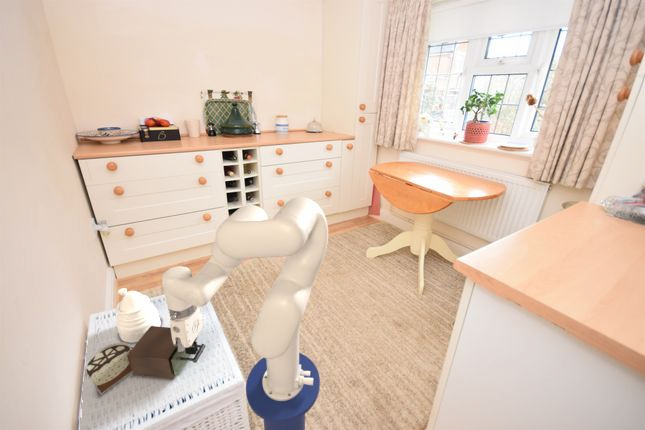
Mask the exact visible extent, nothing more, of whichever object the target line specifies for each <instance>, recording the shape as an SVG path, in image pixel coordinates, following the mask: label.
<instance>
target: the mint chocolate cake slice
mask: <svg viewBox="0 0 645 430" xmlns="http://www.w3.org/2000/svg"><path fill="white" fill-rule="evenodd" d="M133 347H134V346H132V345H131V344H130V343H128V342H114V343H111V344H108V345H106V346H104V347H102V348H100V349H98V350H97V351H96V352H95V353H93V354H92V355H91V356H90V357H89V358H88V360H87V362H86V364H85V366H84V377H85V379H86V381H88V380H89V379H90V381H91V383H92V384H93V386H94V387H95V388H96V390H97V392H99V394H100V395H103V394H104V393H105V392H107V391H108V390H110V389H111V388H112V387H114V386H115V385H116V384H118V383H119V382H120V381H122V380H123V379H124V378H126V377H127V376H129V375H130V374H132V373H133V372H132V369H131V366H130V363H129V360H128V357H127V355H128V353H129V352H130V351H131V350H132V348H133ZM88 378H89V379H88Z"/></svg>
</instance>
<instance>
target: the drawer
mask: <svg viewBox="0 0 645 430" xmlns="http://www.w3.org/2000/svg"><path fill="white" fill-rule="evenodd" d="M197 347H198V351H197V352H196V354H195V355H194V357H191V355H192V354H186V352H185V350H184V351H183V352H178V347H177V349H176V350H175V352H174V353H173V355H172V356H171V358H170V362H171V366H172V370H174V374H175V376H174V377H179V376H180V374H181V372H182V371H183V369H184V367H185V366H186V364H187V362H192V363H193V364H196V363H198V361H199V359H200V357H201V356H202V354H203V351H204V350H205V348H206V344H205V343H201V344H197Z"/></svg>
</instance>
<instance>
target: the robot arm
mask: <svg viewBox="0 0 645 430" xmlns="http://www.w3.org/2000/svg"><path fill="white" fill-rule="evenodd" d="M328 244H329V225H328V221H327V218H326V216H325V214H324V211H323V210H322V208H321V207H320V206H319V205H318V203H316V202H315V201H314V200H312V199H311V198H309V197H306V196H297V197H292V198H290V199H289V200H288V201H287V202H285V204H283V206H281V208H279V210H278V211H277V212H276V214H274V215H273V217H272V218H269V217H268V215H267V212H266V211H265V210H264V209H263V208H262V207H260V206H258V205H255V204H246V205H243V206H241V207H239V208H238V209H237V210H235V211H234V212H233V213H232V214H231V215H229V216H228V217H227V218H226V219H225V220H224V221H223V222H221V223H220V225H219V226H218V228H217V229H216V233H215V240H214V242H213V243H212V244H211V248H210V253H211V256H210V258H209V259H208V261H207V262H206V263H205V264H204V265H203V266H202V267H201V268H200V269H199V270H198V271H197V272H196V273H195V274H194V275H193V273H192V271H191V269H190V268H189V267H187V266H181V265H179V266H178V265H177V266H173V267H170V268H168V269H167V270H165V271H164V272H163V274H162V276H161V285H162V289H163V293H164V298H165V302H166V307H167V310H168V314H169V318H170V320H169V321H170V322H169V328H171V335H172V340H173V344H174V346H177V345H178V352H183V351H184V350H185V352H186V354H191V355H192V356H193V355H194V356H195V355H196V353H197V351H198V350H199V348H198V347H197V345H198V342H197V339H198V336H199V334H200V332H201V330H202V329H203V327H204V318H203V313H202V309H201V307H204V306H206V305H207V304H208V303H209V302H210V300H212V298H213V297H214V296H215V294H216V293H217V292H218V291H219V290H220V288H221V287H222V285H223V284H224V283H225V282H226V281H227V279H228V278H229V277H230V276H231V274H232V273H233V272H234V270H235V269H236V268H237V267H239V266H240V265H241V264H242V263H243V262H244V261H245V260H246V259H265V258H282V257H286V258H285V260H284V262H283V265H282V268H281V270H280V271H279V273H278V276H277V277H276V278H275V280H274V281H273V283H272V285H271V287H270V289H269V291H268V293H267V294H266V296H265V298H264V299H263V302H262V304H261V306H260V309H259V312H258V314H257V318H256V321H255V322H254V326H253V328H252V331H251V335H250V343H251V346H252V349H253V350H254V352H255V353H256V354H257V355H258V356H260V357H261V358H266V362H267V370H266V372H265V374H264V376H263V389H264V391H265V393H266V394H267V396H268V397H270V398H271V399H273V400H277V401H286V400H290V399H292V398H294V397H295V396H296V395H297V394H299V392H300V391H301V389H302V387H303V384H307V385H313V378H304V376H310V371H303V370H302V369H301V365H300V364H299V353H300V332H301V331H300V330H301V323H302V320H303V317H304V315H305V312H306V310H307V306H308V303H309V301H310V296H311V292H312V288H313V285H314V283H315V280H316V278H317V276H318V274H319V271H320V269H321V266H322V264H323V262H324V258H325V256H326V253H327V249H328Z"/></svg>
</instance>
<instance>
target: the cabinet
mask: <svg viewBox="0 0 645 430" xmlns="http://www.w3.org/2000/svg"><path fill="white" fill-rule="evenodd" d="M132 347H133V348H131V351H130V352H129V353H128V355H127V357H128V360H129V363H130V366H131V369H132V372H131V373H132V374H133V376H138V377H147V378H148V377H149V378H159V379H169V380H174V378H175V377H176V376H175V374H174V370H172V366H171V362H170V358H171V356H172V355H173V353H174V352H175V350H176V349H177V347H178V345H177V346H174V344H173V340H172V335H171V327H170V326H169V327H166V326H160V327H158V326H151V327H150V328H149V329H148V330H147V331H146V333H145V334H144V335H143V336H142V337H141V339H140V340H139V341H138V342H136V344H135V345H134V346H132Z"/></svg>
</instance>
